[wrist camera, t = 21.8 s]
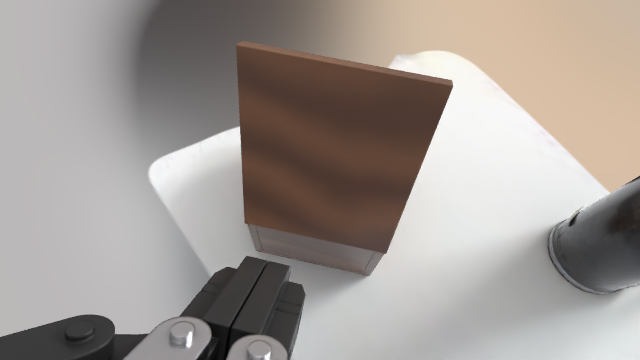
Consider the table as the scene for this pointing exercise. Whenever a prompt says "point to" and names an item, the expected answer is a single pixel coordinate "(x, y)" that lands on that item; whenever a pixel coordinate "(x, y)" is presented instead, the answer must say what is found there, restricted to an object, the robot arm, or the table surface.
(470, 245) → the table surface
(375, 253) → the chest
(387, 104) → the lid
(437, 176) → the table surface
